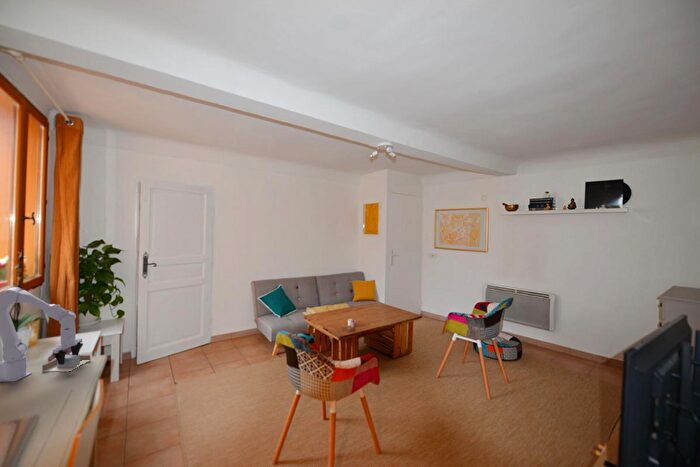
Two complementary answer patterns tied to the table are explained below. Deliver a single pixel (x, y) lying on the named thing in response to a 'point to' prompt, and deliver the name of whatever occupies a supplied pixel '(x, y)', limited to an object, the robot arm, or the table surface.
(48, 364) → the tray
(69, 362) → the slate block
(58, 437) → the table surface
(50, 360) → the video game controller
